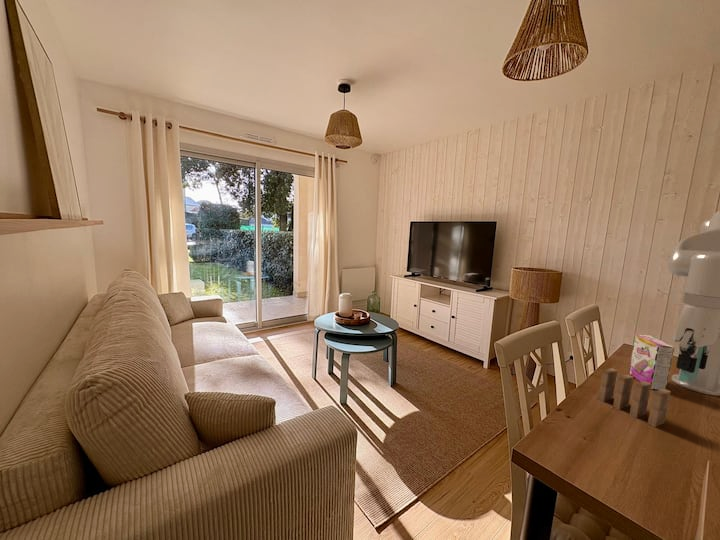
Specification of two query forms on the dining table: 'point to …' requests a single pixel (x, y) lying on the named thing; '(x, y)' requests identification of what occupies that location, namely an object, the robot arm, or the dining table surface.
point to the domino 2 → (623, 391)
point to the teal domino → (691, 377)
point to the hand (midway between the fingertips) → (690, 367)
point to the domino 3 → (640, 399)
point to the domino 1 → (607, 384)
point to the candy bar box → (651, 361)
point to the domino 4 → (659, 407)
